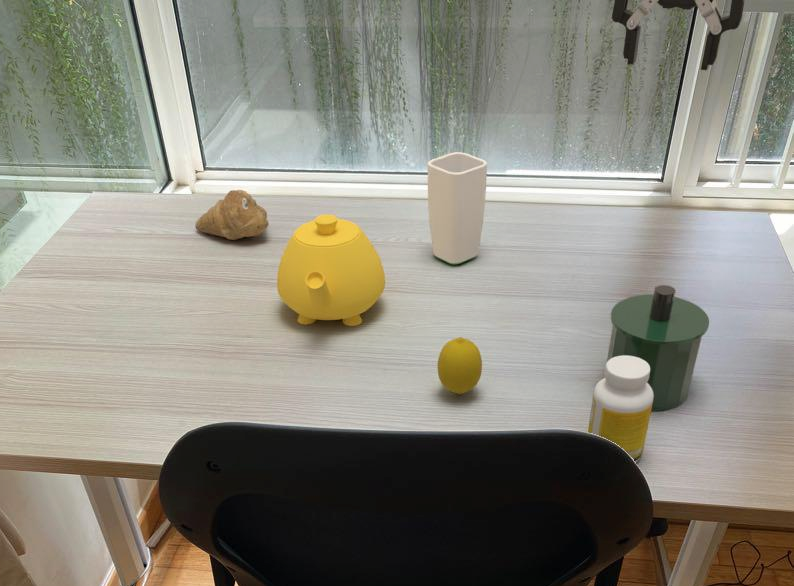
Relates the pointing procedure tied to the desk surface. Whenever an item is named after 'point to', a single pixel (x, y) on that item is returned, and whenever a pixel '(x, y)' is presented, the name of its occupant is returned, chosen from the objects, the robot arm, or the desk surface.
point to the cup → (456, 205)
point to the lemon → (459, 365)
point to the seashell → (234, 217)
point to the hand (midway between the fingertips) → (667, 65)
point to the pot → (661, 366)
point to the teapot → (330, 272)
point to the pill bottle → (623, 404)
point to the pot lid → (660, 318)
